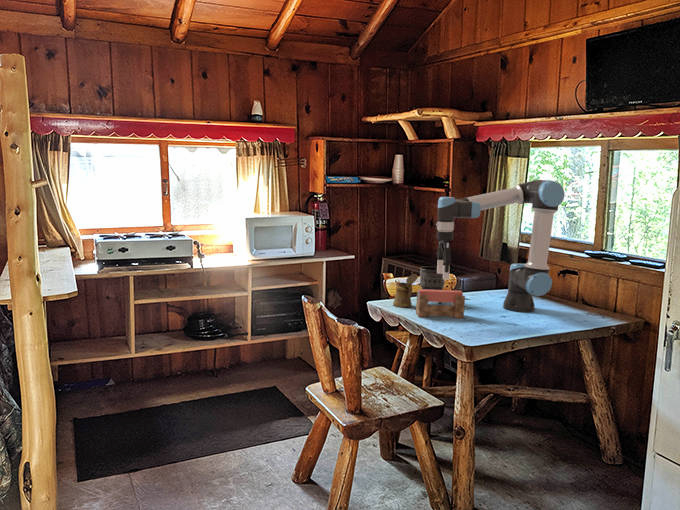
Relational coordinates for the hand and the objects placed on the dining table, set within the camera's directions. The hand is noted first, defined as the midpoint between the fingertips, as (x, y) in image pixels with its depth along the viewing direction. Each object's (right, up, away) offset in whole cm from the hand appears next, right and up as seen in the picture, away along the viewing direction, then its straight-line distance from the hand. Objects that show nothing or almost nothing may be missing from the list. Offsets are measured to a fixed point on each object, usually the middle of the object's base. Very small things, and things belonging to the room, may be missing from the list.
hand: (442, 276), depth 275 cm
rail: (-1, -12, +2) cm, 12 cm away
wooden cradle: (-1, -19, +3) cm, 19 cm away
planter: (-1, -15, +30) cm, 33 cm away
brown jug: (-16, -16, +18) cm, 29 cm away
